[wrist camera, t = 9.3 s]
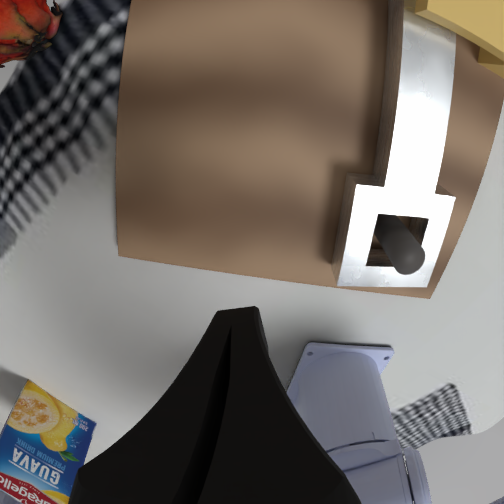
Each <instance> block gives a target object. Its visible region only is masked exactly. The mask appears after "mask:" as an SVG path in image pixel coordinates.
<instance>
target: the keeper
mask: <svg viewBox="0 0 504 504" xmlns="http://www.w3.org/2000/svg"><path fill="white" fill-rule="evenodd" d="M415 14H417V15H420V16H422V17H424V18H426V19H429V20H431V21H433V22H435V23H437V24H439V25H441V26H443V27H445V28H447V29H449V30H451V31H453V32H455V33H457V34H459V35H461V36H462V37H464V38H466V39H468V40H470V41H471V42H473V43H475V44H477V45H478V46H480V51H479V57H478V63H479V64H480V65H482V66H484V67H486V68H487V69H489V70H491V71H492V72H494V73H496V74H497V75H499V76H500V77H502V78H503V79H504V0H416V6H415Z"/></svg>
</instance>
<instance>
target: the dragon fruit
mask: <svg viewBox="0 0 504 504" xmlns="http://www.w3.org/2000/svg"><path fill="white" fill-rule="evenodd" d="M46 2H47V1H46V0H0V68H3V67H5V66H4V65H1V64H3V63H6V62H9V61H12V60H27V59H29V58H31V57H33V56H34V55H35V54H36V53H37V51H43V50H45V49H46V48H48V47H49V46H51V45H52V43H51V42H47V43H45V44H42V45H38V46H35V47H32V46H31V45H32V43H33V41H34V42H36V43H40V42H41V41H44V40H45V39H51V38H52V37H54V36H55V35H56V34H57V30H58V26H59V23H60V19H61V16H62V12H60V11H59V8H60V7H59V6H58V4H57V3H56V2H55V1H54V0H53V4H54V6H55V8H56V10H55V8H54V7H51V11H50V9H49V6H48V5H47V3H46ZM63 18H64V17H63ZM61 20H62V19H61Z"/></svg>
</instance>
